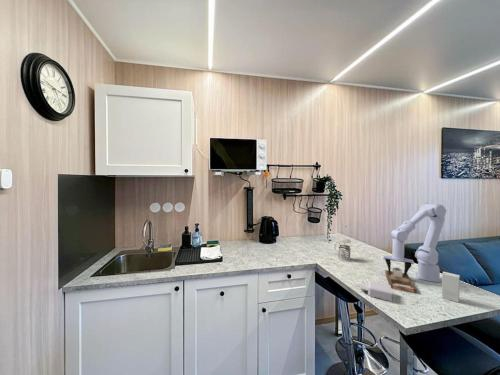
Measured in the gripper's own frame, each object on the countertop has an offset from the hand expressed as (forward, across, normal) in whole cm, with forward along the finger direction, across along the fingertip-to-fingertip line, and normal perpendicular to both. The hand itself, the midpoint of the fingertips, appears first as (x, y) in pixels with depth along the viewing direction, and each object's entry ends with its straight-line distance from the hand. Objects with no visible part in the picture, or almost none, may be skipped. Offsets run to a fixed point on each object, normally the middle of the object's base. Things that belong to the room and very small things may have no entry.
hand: (397, 273), depth 124 cm
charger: (+3, -14, -27) cm, 30 cm away
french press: (+3, -30, +18) cm, 35 cm away
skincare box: (+3, +19, -15) cm, 24 cm away
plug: (+3, 0, 0) cm, 3 cm away
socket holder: (+3, 0, -6) cm, 7 cm away
